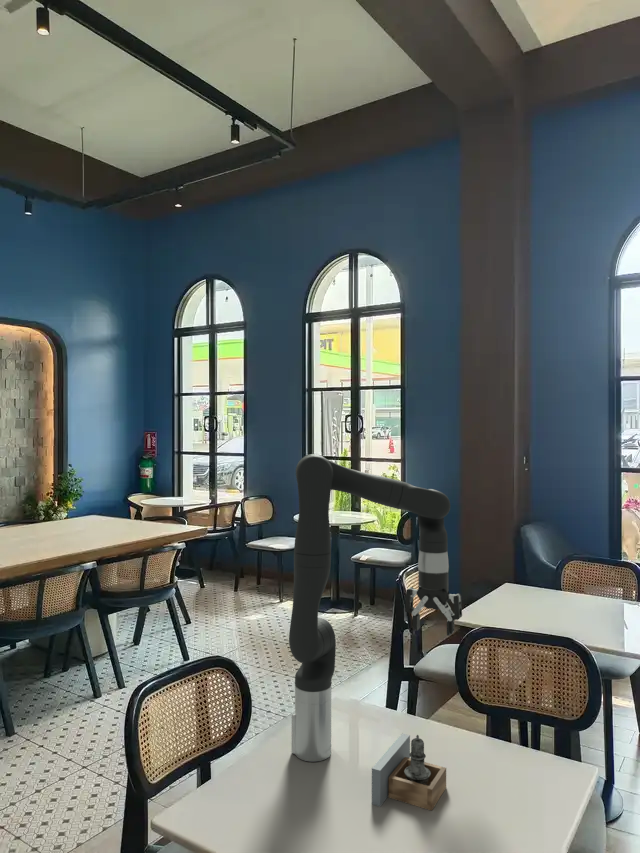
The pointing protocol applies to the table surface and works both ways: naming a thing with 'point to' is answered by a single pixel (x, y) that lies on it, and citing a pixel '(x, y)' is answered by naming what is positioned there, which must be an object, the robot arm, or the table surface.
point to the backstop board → (388, 768)
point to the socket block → (417, 786)
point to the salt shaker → (417, 763)
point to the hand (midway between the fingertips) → (433, 632)
